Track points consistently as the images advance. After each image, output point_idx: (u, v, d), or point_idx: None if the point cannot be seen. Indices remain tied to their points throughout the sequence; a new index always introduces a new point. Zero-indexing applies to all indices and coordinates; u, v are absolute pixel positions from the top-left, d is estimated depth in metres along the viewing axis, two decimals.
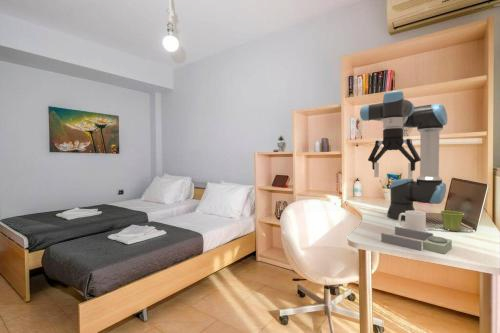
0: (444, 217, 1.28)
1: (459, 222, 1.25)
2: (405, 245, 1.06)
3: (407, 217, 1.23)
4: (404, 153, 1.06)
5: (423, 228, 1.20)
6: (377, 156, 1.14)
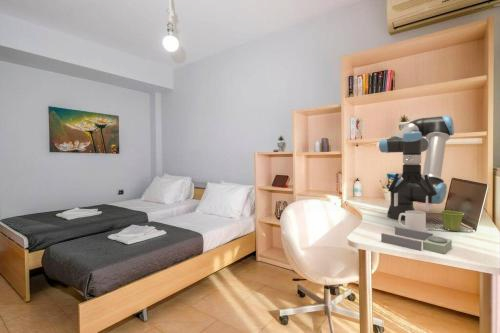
0: (444, 217, 1.28)
1: (459, 222, 1.25)
2: (405, 245, 1.06)
3: (407, 217, 1.23)
4: (422, 187, 1.20)
5: (423, 228, 1.20)
6: (397, 187, 1.28)
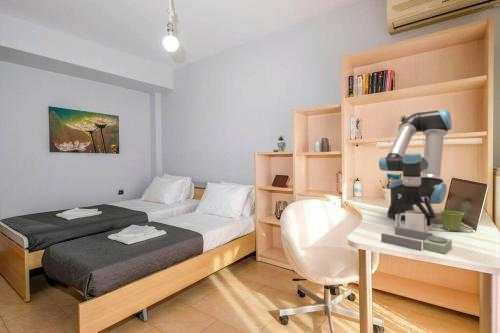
0: (444, 217, 1.28)
1: (459, 222, 1.25)
2: (405, 245, 1.06)
3: (407, 217, 1.23)
4: (421, 209, 1.21)
5: (423, 228, 1.20)
6: (398, 208, 1.28)
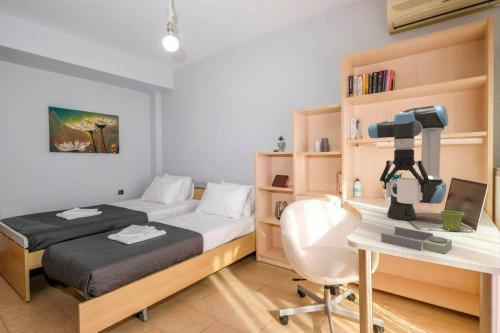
0: (444, 217, 1.28)
1: (459, 222, 1.25)
2: (405, 245, 1.06)
3: (399, 184, 1.10)
4: (415, 175, 1.08)
5: (416, 195, 1.07)
6: (389, 176, 1.16)
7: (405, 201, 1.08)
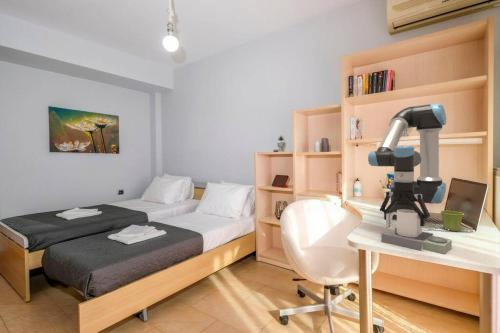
0: (444, 217, 1.28)
1: (459, 222, 1.25)
2: (405, 245, 1.06)
3: (398, 216, 1.11)
4: (414, 208, 1.09)
5: (416, 229, 1.08)
6: (389, 207, 1.16)
7: (405, 234, 1.09)
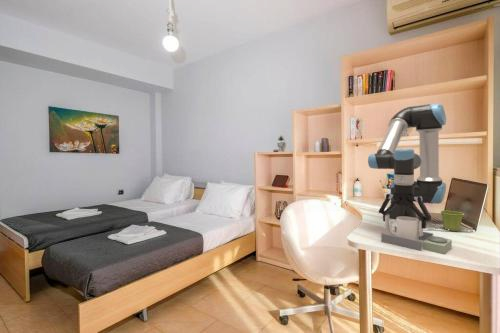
0: (444, 217, 1.28)
1: (459, 222, 1.25)
2: (405, 245, 1.06)
3: (398, 224, 1.11)
4: (415, 210, 1.08)
5: (416, 236, 1.08)
6: (388, 209, 1.17)
7: None
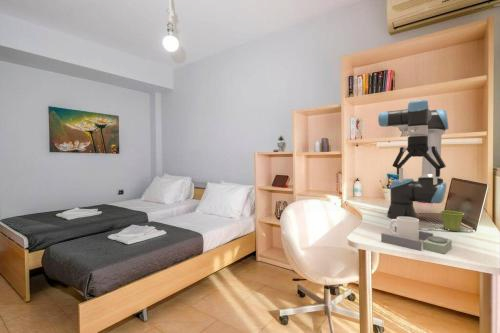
0: (444, 217, 1.28)
1: (459, 222, 1.25)
2: (405, 245, 1.06)
3: (398, 224, 1.11)
4: (429, 160, 1.11)
5: (416, 236, 1.08)
6: (402, 162, 1.19)
7: None
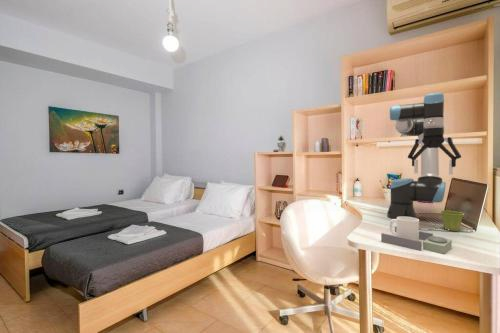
0: (444, 217, 1.28)
1: (459, 222, 1.25)
2: (405, 245, 1.06)
3: (398, 224, 1.11)
4: (445, 151, 1.14)
5: (416, 236, 1.08)
6: (417, 153, 1.23)
7: None
